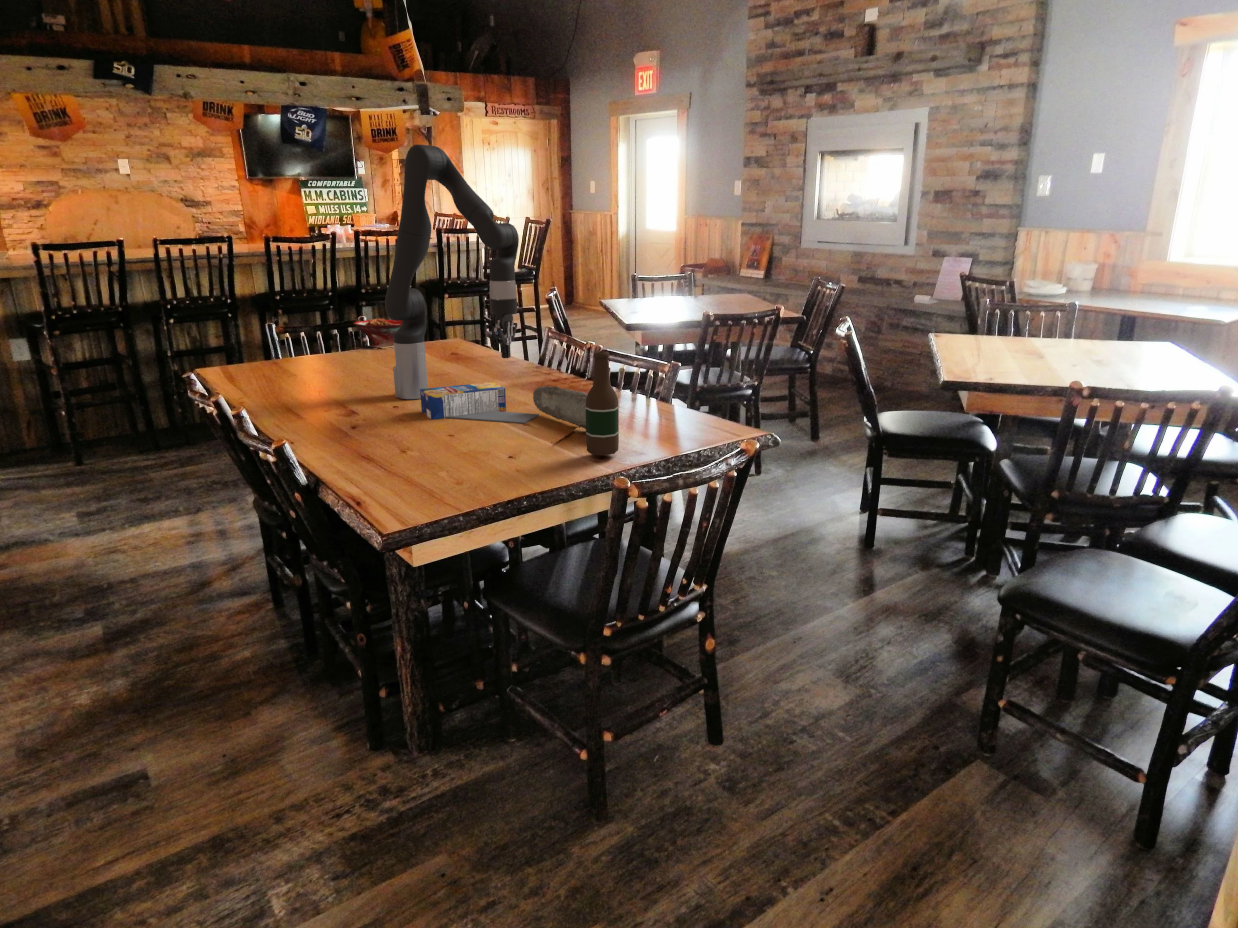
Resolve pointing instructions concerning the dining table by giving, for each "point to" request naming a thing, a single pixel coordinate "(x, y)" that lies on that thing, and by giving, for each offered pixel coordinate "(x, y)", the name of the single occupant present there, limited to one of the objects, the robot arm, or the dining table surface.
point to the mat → (498, 417)
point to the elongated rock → (562, 404)
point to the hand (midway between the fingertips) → (506, 357)
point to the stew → (378, 332)
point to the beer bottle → (602, 410)
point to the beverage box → (462, 400)
